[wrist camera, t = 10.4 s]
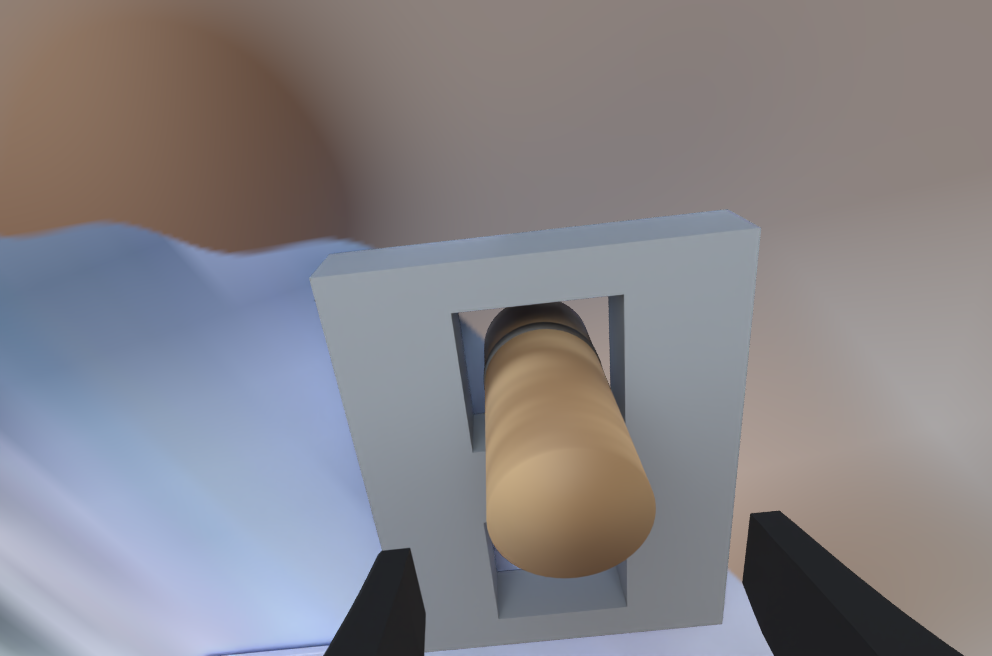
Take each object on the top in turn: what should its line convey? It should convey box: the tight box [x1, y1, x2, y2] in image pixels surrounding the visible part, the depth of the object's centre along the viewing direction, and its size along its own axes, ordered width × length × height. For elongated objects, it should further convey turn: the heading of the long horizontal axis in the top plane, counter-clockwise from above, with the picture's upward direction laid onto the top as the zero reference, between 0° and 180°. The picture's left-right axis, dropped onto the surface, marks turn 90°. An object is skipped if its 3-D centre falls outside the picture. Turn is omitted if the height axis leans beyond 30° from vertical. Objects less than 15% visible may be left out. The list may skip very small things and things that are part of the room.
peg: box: [484, 302, 656, 578], centre depth 17 cm, size 4×4×9 cm
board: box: [309, 209, 761, 652], centre depth 22 cm, size 14×18×2 cm
